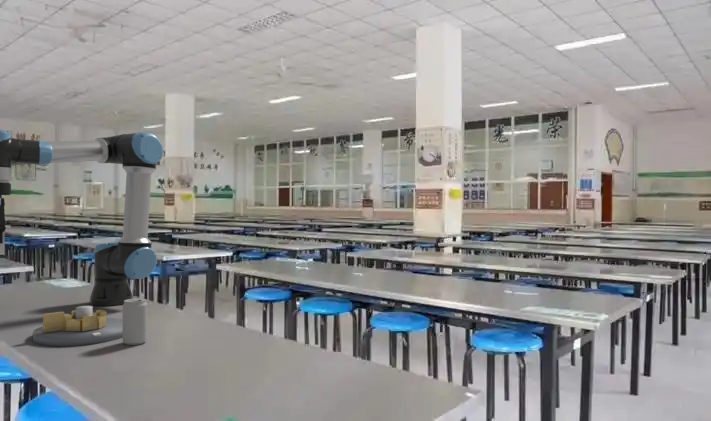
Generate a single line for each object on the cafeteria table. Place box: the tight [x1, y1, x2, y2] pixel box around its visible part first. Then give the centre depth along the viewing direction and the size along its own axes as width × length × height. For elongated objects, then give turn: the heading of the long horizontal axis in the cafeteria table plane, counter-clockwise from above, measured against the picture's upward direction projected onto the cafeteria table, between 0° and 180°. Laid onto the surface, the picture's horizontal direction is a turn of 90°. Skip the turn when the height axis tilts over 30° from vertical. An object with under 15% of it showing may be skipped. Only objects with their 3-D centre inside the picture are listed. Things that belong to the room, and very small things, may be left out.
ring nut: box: [42, 309, 108, 333], centre depth 157 cm, size 16×11×5 cm
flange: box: [32, 305, 123, 347], centre depth 159 cm, size 26×26×8 cm
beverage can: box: [122, 298, 148, 346], centre depth 150 cm, size 6×6×12 cm
